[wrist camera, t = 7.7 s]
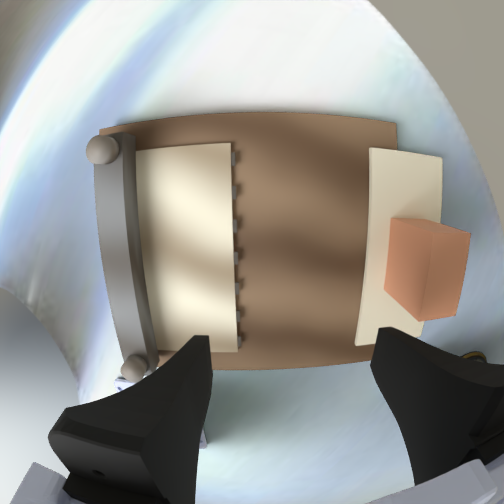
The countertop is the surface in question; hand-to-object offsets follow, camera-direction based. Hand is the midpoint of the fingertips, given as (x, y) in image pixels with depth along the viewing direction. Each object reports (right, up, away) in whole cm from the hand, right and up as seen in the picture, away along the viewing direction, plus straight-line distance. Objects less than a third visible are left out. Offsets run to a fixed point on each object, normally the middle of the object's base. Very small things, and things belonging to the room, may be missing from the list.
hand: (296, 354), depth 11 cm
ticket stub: (+9, +4, +7) cm, 12 cm away
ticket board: (-2, +4, +8) cm, 10 cm away
